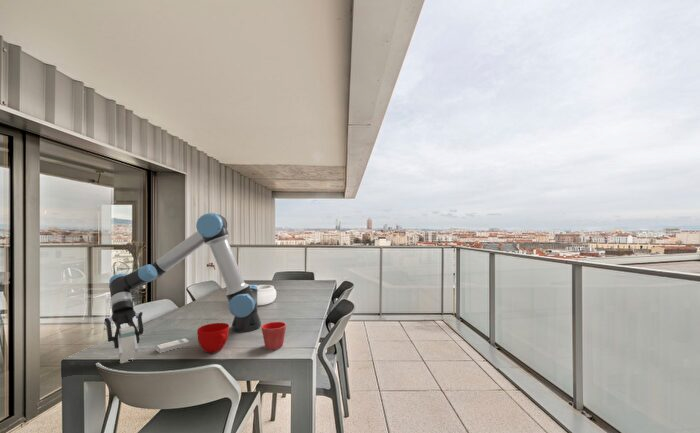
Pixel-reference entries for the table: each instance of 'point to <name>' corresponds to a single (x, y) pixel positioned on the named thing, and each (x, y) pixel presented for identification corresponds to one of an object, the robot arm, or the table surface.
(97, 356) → the table surface
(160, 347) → the strip
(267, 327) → the flower pot
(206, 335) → the ceramic cup
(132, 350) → the stub
